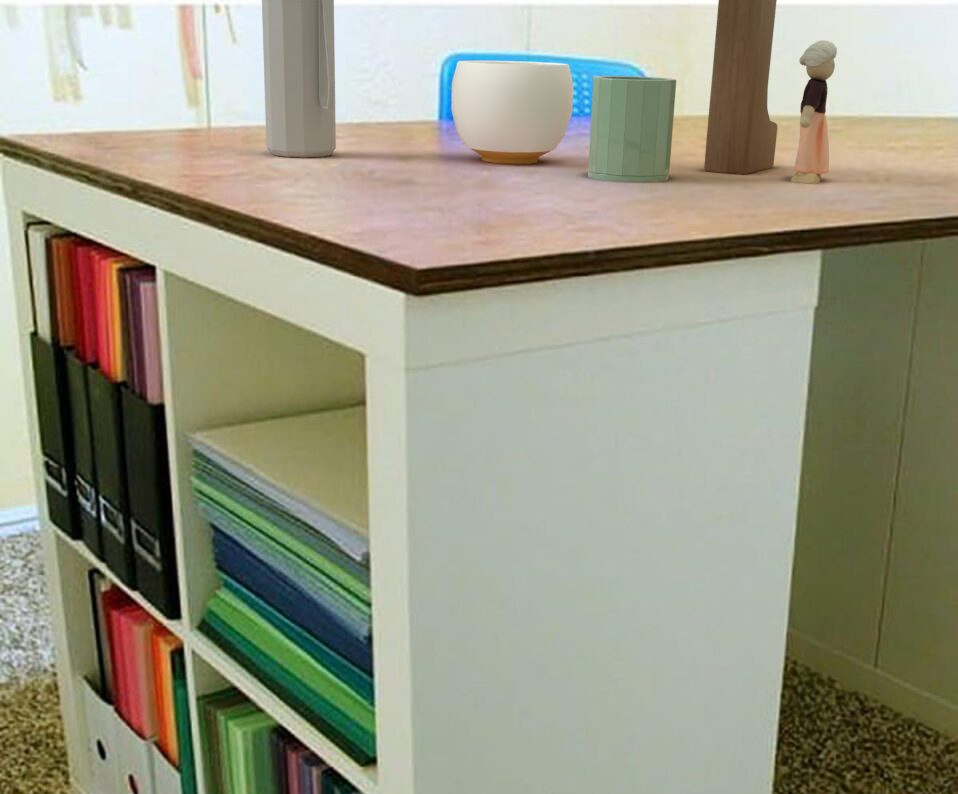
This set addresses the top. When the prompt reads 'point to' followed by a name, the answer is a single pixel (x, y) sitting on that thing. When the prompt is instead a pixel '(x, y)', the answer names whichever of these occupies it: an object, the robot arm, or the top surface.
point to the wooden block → (741, 89)
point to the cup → (511, 108)
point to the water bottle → (299, 77)
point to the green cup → (631, 128)
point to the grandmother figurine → (814, 114)
